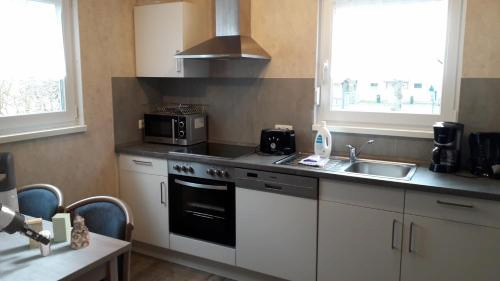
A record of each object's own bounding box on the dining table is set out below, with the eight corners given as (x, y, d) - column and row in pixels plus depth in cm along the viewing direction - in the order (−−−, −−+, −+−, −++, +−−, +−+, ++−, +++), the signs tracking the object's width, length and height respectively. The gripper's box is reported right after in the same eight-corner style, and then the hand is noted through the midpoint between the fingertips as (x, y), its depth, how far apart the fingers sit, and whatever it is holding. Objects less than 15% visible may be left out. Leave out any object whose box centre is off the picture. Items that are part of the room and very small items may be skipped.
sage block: (59, 236, 168) (56, 213, 167) (71, 236, 169) (69, 213, 167) (54, 241, 164) (51, 218, 162) (66, 241, 164) (64, 217, 162)
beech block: (29, 244, 162) (27, 220, 160) (44, 241, 164) (41, 217, 162) (30, 248, 157) (27, 224, 155) (44, 246, 160) (42, 222, 158)
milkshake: (37, 253, 154) (34, 228, 152) (52, 250, 155) (50, 226, 154) (35, 258, 149) (32, 232, 148) (51, 256, 151) (49, 230, 149)
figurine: (70, 250, 156) (67, 220, 154) (70, 242, 163) (68, 214, 160) (90, 247, 159) (88, 217, 156) (90, 239, 165) (87, 211, 163)
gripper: (20, 214, 138) (58, 235, 148) (6, 204, 147) (42, 225, 158) (5, 234, 135) (44, 254, 145) (-9, 222, 144) (29, 242, 155)
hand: (43, 239), depth 152 cm, fingers open, 8 cm apart
